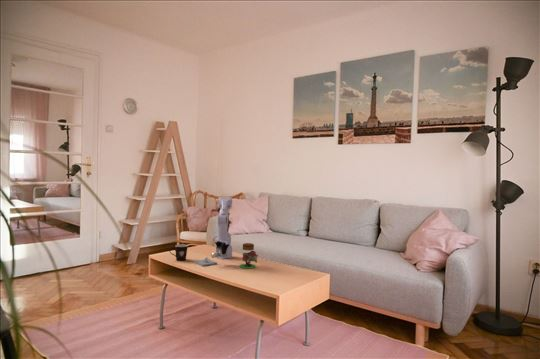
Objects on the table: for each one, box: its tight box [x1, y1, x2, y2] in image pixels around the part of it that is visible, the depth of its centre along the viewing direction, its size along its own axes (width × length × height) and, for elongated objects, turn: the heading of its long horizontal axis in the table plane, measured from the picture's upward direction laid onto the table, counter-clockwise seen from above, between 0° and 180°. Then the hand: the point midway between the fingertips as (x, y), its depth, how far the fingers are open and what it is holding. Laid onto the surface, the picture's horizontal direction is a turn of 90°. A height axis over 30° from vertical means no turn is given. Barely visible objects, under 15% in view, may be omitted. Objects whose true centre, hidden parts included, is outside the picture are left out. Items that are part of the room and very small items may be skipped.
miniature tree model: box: [239, 242, 259, 270], centre depth 238 cm, size 12×13×15 cm
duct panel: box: [193, 256, 218, 267], centre depth 243 cm, size 11×12×4 cm
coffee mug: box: [169, 243, 189, 262], centre depth 250 cm, size 12×9×10 cm
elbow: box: [210, 246, 227, 259], centre depth 239 cm, size 10×5×6 cm, turn 129°
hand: (221, 253), depth 241 cm, fingers closed on elbow, 5 cm apart
